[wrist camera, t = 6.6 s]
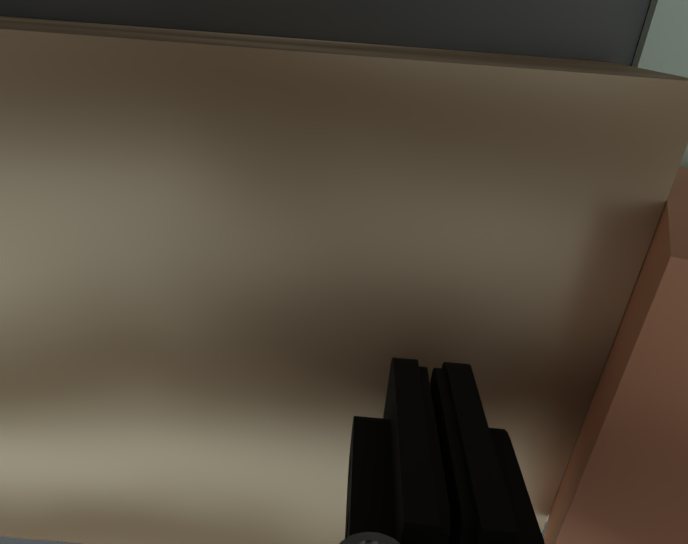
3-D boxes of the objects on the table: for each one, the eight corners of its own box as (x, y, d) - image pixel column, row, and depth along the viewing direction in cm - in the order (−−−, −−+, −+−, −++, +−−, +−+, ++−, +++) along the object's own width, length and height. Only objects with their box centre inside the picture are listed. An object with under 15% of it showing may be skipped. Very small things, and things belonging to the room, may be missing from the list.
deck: (-208, 0, 12) (-438, -4, 9) (611, 61, 12) (710, 82, 9) (-45, 427, 19) (-142, 524, 15) (494, 472, 19) (523, 581, 15)
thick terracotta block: (670, 256, 7) (953, 320, 6) (664, 164, 12) (823, 190, 11) (528, 609, 12) (678, 688, 10) (565, 439, 16) (671, 480, 15)
